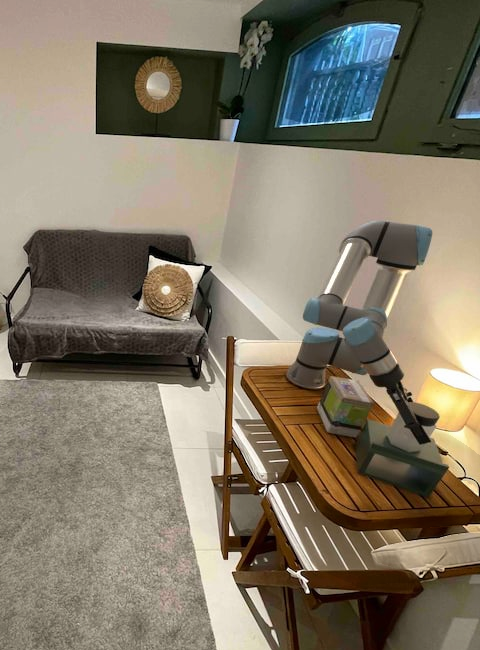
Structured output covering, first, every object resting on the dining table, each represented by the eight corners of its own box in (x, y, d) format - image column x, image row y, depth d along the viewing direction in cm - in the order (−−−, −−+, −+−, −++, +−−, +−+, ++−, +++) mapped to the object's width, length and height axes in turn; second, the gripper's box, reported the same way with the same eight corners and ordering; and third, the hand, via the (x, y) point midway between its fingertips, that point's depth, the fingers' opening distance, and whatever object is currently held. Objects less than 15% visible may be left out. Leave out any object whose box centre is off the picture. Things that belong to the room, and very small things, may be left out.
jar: (382, 440, 111) (400, 407, 105) (390, 429, 116) (408, 397, 110) (417, 457, 106) (438, 423, 100) (424, 445, 111) (444, 412, 105)
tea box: (357, 438, 128) (375, 403, 120) (326, 433, 129) (342, 397, 122) (343, 413, 140) (359, 379, 133) (315, 408, 142) (329, 374, 134)
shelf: (355, 442, 125) (369, 414, 120) (418, 463, 119) (436, 434, 113) (357, 473, 113) (373, 443, 107) (428, 497, 106) (449, 467, 101)
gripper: (365, 357, 117) (399, 411, 119) (371, 395, 98) (412, 459, 100) (392, 346, 113) (427, 402, 115) (404, 384, 93) (446, 451, 95)
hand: (420, 429), depth 107 cm, fingers open, 13 cm apart
